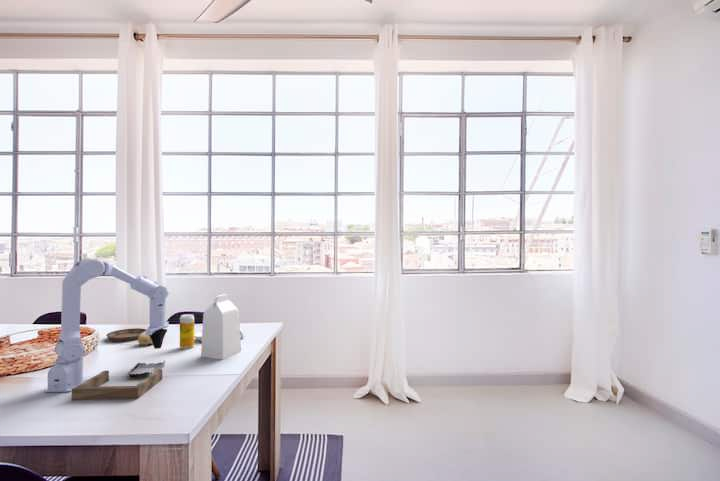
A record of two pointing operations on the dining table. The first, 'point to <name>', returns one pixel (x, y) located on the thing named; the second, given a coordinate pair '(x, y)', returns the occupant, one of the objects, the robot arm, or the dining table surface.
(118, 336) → the plant saucer
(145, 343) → the beige rounded lump
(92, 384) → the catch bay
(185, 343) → the yellow bottle
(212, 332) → the milk
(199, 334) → the spoon rest
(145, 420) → the dining table surface
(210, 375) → the dining table surface
